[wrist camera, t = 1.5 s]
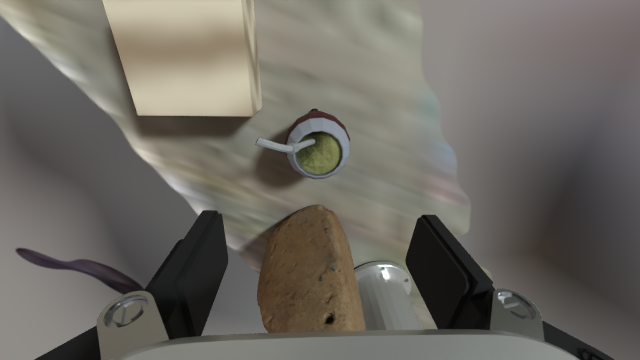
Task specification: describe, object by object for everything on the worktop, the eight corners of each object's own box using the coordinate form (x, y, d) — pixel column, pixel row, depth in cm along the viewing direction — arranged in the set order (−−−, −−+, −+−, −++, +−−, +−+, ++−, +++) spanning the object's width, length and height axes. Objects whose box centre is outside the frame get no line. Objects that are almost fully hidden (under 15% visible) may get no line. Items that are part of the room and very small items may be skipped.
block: (331, 195, 35) (359, 334, 17) (347, 232, 38) (386, 383, 20) (264, 220, 36) (225, 375, 18) (286, 254, 39) (270, 414, 21)
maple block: (262, 106, 29) (252, 116, 24) (169, 105, 28) (137, 115, 23) (253, -5, 24) (238, -24, 19) (141, -9, 24) (92, -31, 18)
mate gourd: (343, 157, 32) (370, 223, 19) (285, 161, 32) (270, 231, 19) (342, 99, 29) (374, 130, 16) (277, 103, 29) (253, 138, 15)
